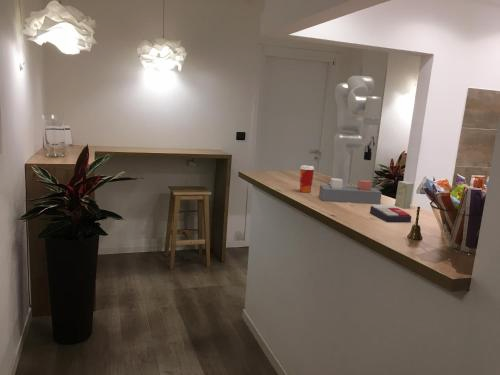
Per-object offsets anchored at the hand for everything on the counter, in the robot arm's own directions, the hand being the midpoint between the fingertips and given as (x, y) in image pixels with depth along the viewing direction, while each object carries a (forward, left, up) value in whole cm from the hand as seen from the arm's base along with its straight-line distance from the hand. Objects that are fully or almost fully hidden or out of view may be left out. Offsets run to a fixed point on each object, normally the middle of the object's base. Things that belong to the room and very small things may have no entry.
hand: (367, 159), depth 205 cm
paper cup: (-15, -27, -21) cm, 37 cm away
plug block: (0, -7, -21) cm, 22 cm away
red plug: (0, 0, -18) cm, 18 cm away
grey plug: (0, -14, -18) cm, 22 cm away
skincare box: (+9, +17, -21) cm, 28 cm away
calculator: (+32, +3, -21) cm, 38 cm away
